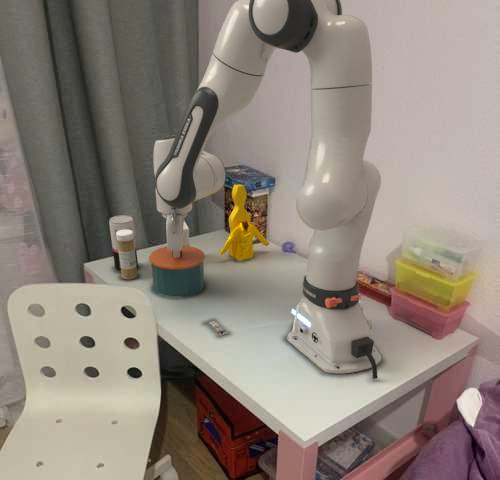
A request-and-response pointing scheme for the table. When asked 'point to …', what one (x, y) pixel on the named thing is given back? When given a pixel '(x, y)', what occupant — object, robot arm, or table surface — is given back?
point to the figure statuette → (241, 228)
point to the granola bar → (218, 328)
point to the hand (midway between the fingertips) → (177, 253)
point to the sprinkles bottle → (127, 254)
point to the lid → (186, 260)
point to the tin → (178, 280)
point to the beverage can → (116, 225)
